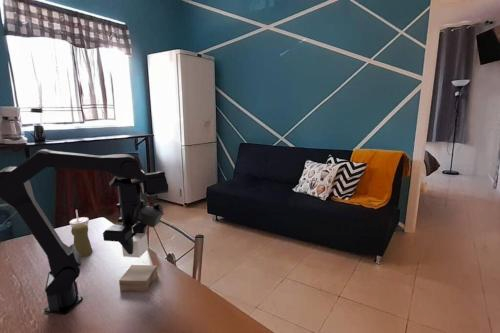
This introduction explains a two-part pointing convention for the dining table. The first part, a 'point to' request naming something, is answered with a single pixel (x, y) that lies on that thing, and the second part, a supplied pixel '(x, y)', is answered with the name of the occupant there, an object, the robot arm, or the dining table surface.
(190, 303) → the dining table surface
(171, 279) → the dining table surface
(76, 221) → the smoothie
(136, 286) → the tan flat block
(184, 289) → the dining table surface
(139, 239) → the white cube
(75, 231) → the olive drink cup
